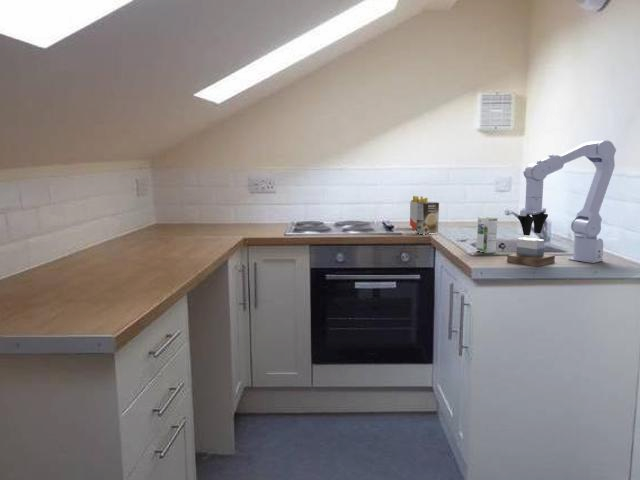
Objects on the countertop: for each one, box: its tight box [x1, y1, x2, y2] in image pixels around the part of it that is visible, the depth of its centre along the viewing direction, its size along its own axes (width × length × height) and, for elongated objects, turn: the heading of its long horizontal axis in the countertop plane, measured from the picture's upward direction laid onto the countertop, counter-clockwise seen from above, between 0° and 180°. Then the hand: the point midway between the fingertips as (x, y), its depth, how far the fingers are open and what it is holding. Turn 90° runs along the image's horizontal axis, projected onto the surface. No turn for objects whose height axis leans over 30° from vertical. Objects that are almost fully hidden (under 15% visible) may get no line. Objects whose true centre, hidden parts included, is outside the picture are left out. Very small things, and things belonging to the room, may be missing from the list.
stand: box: [506, 253, 556, 267], centre depth 197 cm, size 12×12×2 cm
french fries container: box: [409, 195, 429, 230], centre depth 285 cm, size 5×11×18 cm, turn 41°
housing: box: [516, 236, 545, 258], centre depth 197 cm, size 8×5×6 cm, turn 39°
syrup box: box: [476, 215, 498, 254], centre depth 218 cm, size 6×6×14 cm
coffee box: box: [415, 201, 440, 235], centre depth 269 cm, size 9×6×16 cm
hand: (532, 234), depth 196 cm, fingers open, 7 cm apart
